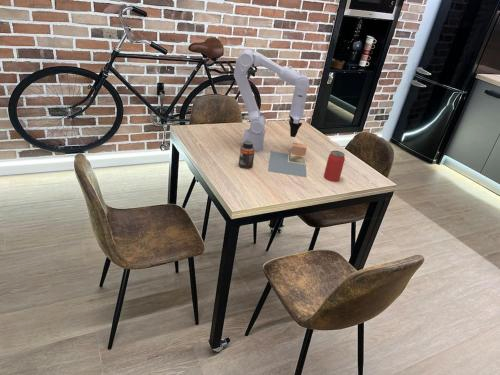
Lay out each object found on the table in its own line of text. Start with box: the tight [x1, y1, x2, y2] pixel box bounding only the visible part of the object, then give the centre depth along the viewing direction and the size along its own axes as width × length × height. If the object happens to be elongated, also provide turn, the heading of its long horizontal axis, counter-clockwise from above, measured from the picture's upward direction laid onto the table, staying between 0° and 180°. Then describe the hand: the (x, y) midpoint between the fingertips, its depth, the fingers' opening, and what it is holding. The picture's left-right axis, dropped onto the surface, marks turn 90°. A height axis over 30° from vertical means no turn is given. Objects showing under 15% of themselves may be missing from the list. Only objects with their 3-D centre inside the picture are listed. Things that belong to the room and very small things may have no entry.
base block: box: [289, 149, 306, 164], centre depth 167 cm, size 6×6×3 cm
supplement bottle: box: [238, 140, 256, 170], centre depth 154 cm, size 6×6×11 cm
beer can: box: [323, 150, 346, 183], centre depth 154 cm, size 7×7×12 cm
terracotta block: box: [290, 142, 308, 157], centre depth 166 cm, size 6×4×4 cm, turn 84°
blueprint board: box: [267, 151, 308, 178], centre depth 164 cm, size 16×21×1 cm
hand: (292, 133), depth 169 cm, fingers open, 7 cm apart
